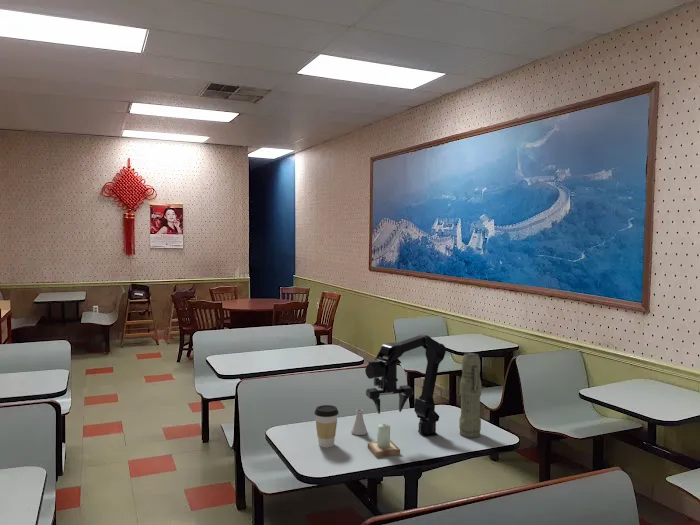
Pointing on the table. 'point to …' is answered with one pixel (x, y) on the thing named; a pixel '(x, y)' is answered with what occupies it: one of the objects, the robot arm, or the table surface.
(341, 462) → the table surface
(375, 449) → the plinth
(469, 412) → the stone statue
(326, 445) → the coffee cup
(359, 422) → the flask
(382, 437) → the sage capsule
